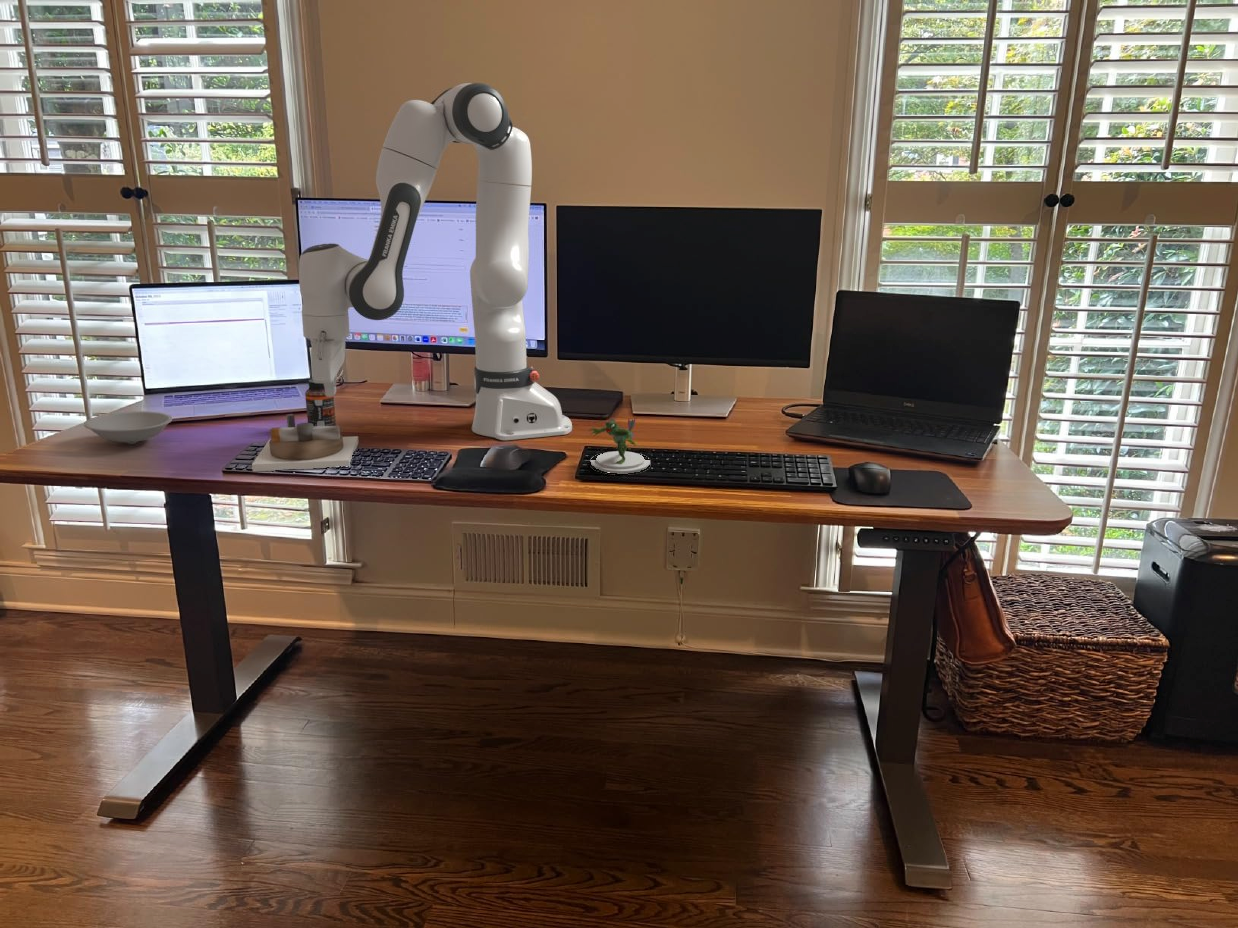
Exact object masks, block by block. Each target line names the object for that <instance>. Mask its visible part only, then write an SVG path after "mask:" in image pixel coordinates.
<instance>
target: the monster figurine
mask: <svg viewBox="0 0 1238 928" xmlns="http://www.w3.org/2000/svg"><path fill="white" fill-rule="evenodd" d="M604 422H605V426H603V427H602V428H596V427H594V426H592V428H591V429H589V430H588V432H591V431H592V432H591V433H590V436H591V435H592V434H594V435H593V436H592V437H593V438H594V437H595V436H597V435H598V434H601V433H603V432H606V433H607V434H608V435H609V436H612V438H613V442H614V443H615V444H617V450H615V451H607V452H603V454H602V453H599V454H600V455H598V454H597V455H598V456H597V458H596V460H591V459H592V458H593V457H591V458H590V460H589V461H590V462H591V465H592V466H594V467H595V468H596V469H599V470H601V471H604V472H610V473H617V474H628V473H634V472H640V471H641V470H644V469H646V468H647V467H648V466H649V465H650V466H651V459H650V458H649V457H648V459H650V460H645V459H644V457H643V456H642V455H643V454H641V455H640V453H636V452H634V451H633V452H632V451H627V449H628V445H627V443H626V442H629V443H630V445H633V446H634V447H636V446H637V445H636V443H635V442H634V440H632V439H633V438H634V436H635V435H636V433H635V431H632V430H633V429H634V427H635V424H636V418H634V419H631V420H630V418H628V420H627V425H628V429H626V428H625V429H624V428H622V427H621V425H619V424H618V422H616V419H614V418H610V419H609V421H606V420H605V421H604ZM590 462H589V463H590ZM640 473H641V472H640ZM628 475H629V474H628Z"/></svg>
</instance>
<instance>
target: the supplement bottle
mask: <svg viewBox="0 0 1238 928" xmlns="http://www.w3.org/2000/svg"><path fill="white" fill-rule="evenodd" d="M307 382H308V389H306V390H305V393H304V394H305V395H304V397H305V405H306V406H305V407H306V415H307V423H312V424H313V426H337V420H336V417H337V416H336V411H335V401H334V399H335V398H334V396H335V395H334V396H333V397H327V396H326V395H325V387H324V384H323V383H314V382H313V379H312V378H310V379H309V380H307Z"/></svg>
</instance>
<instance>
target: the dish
mask: <svg viewBox="0 0 1238 928" xmlns="http://www.w3.org/2000/svg"><path fill="white" fill-rule="evenodd" d="M172 421H173V416H171V415H169V414H167V413H164V412H158V411H150V410H149V411H147V410H146V411H144V410H143V411H142V410H138V411H136V410H135V411H121V412H112V413H107V414H102V415H98V416H94V417H91V418H89V419H86V420H85V421H84V422H83V426H84V427H85V428H86V429H89V430H90V431H92V432H93V433H95V434H96V435H97V436H99V437H100V438H102V439H105V440H108V441H111V442H112V441H113V442H117V443H127V444H128V445H135V444H137V443H138V442H142V441H147V440H149V439H152V438H155V437H156V436H158V434H160V433H161V432H162V431H163V430H164V429H165V428H166V427H167V425H168V424H170V423H171V422H172Z"/></svg>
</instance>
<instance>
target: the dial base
mask: <svg viewBox="0 0 1238 928" xmlns="http://www.w3.org/2000/svg"><path fill="white" fill-rule="evenodd" d="M285 416H286V425H287V427H296V422H295V421H296V420H295V415H294V414H293V413H289V414H285ZM270 440H271V439H268V441H267V442H266V443H265V445H264V447H262V449H261V450H260V452H259V454H258V455H257V456H256V458H255V459H254V461H253V462H252V463H251V468H252V473H255V472H256V473H257V472H258V473H259V472H276V471H275V470H282V471H284V470H283V469H304V470H314V469H313V468H326V467H334V466H349V465H350V466H351V464H350V462H351V459H352V455H353V452H354V450H355V449H356V450H357V448H358V445H359V436H343V448H342V449H341V450H340V451H339V452H337V453H334V454H332V455H329V456H325V457H320V458H314V459H305V460H288V459H281V458H277V457H274V456H273V455H271V453H270V445H269V442H270ZM352 460H353V459H352ZM351 463H352V462H351Z"/></svg>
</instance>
